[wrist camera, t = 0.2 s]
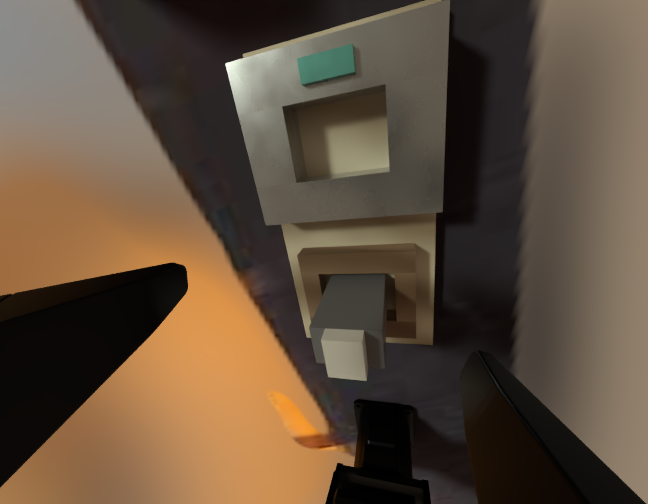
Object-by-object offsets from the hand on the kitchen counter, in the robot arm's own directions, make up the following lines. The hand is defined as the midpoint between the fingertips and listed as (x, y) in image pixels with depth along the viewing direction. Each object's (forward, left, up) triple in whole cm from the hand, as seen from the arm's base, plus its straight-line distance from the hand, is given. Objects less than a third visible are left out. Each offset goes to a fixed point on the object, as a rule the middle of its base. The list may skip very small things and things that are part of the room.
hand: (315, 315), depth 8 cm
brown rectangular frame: (-7, +1, -13) cm, 15 cm away
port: (+5, +1, -14) cm, 15 cm away
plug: (-7, +1, -13) cm, 15 cm away
